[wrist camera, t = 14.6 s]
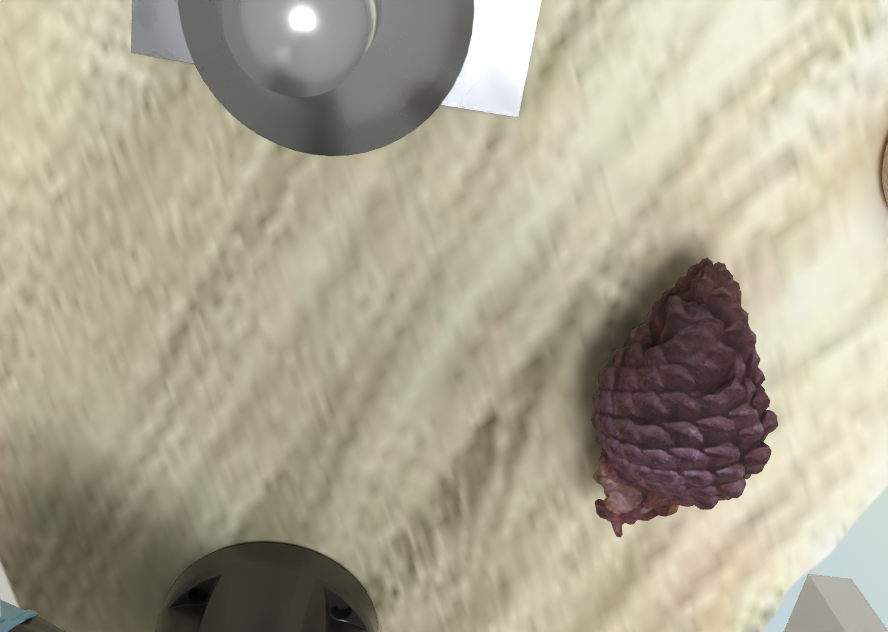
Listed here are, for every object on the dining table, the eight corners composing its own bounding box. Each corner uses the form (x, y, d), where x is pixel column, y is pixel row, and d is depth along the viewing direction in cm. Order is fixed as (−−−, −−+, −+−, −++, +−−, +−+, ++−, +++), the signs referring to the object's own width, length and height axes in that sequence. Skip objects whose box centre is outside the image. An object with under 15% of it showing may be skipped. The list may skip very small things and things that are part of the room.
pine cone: (615, 222, 47) (663, 284, 38) (779, 247, 48) (864, 313, 39) (551, 479, 54) (578, 584, 45) (696, 496, 55) (752, 603, 46)
